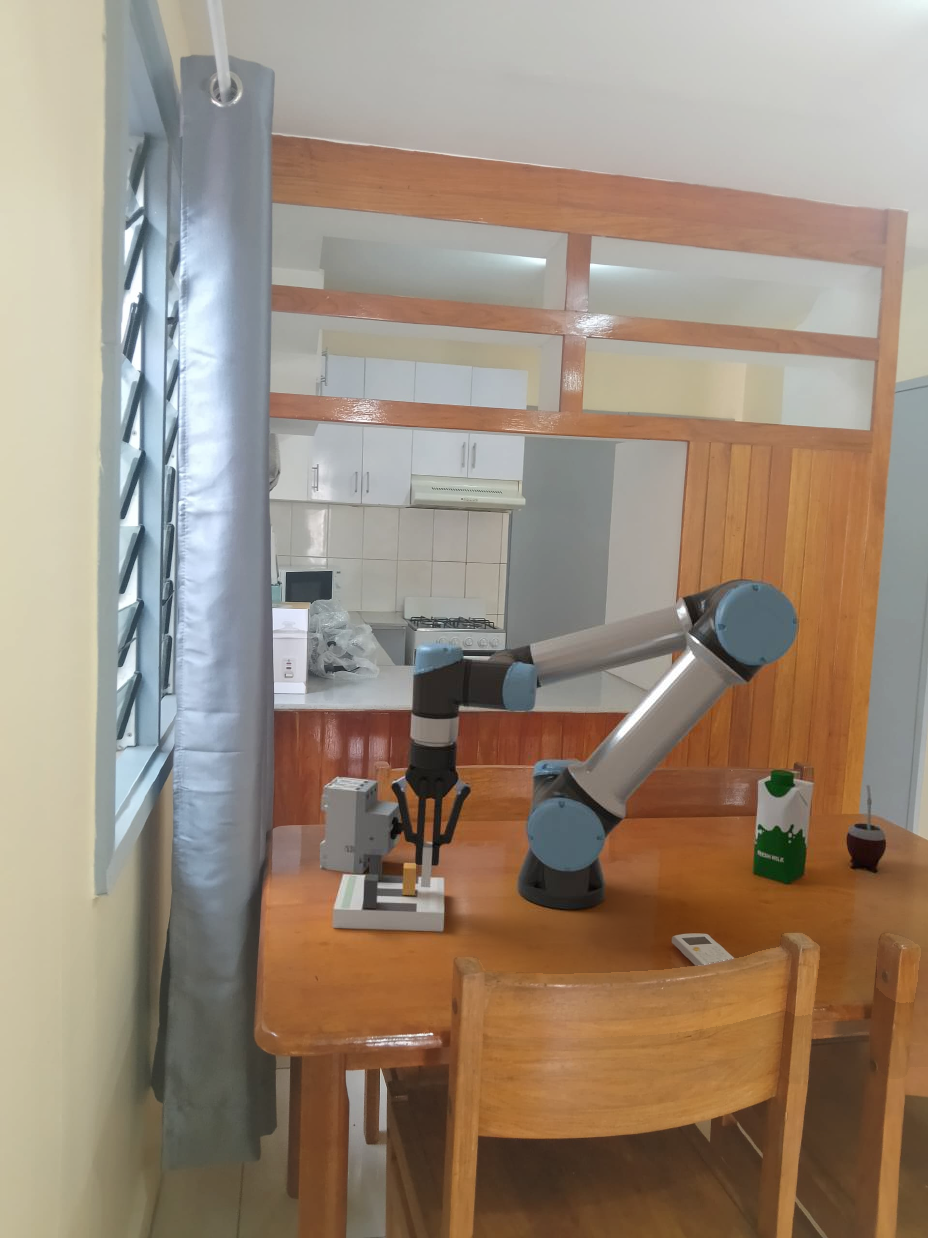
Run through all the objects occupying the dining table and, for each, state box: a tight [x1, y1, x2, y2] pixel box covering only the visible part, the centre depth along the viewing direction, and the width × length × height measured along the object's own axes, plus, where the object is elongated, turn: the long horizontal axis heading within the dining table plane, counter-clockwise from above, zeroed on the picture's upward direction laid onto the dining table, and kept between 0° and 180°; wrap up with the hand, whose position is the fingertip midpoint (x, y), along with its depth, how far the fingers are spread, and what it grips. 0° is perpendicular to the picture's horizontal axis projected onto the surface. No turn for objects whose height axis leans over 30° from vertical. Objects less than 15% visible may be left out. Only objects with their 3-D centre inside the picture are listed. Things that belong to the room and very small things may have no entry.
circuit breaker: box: [319, 776, 404, 875], centre depth 162 cm, size 8×14×15 cm, turn 78°
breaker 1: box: [368, 849, 384, 881], centre depth 149 cm, size 2×2×4 cm
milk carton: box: [752, 769, 815, 885], centre depth 167 cm, size 9×9×20 cm
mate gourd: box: [846, 784, 887, 874], centre depth 174 cm, size 8×8×15 cm
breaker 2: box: [363, 873, 378, 908], centre depth 138 cm, size 2×2×4 cm
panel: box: [332, 873, 445, 932], centre depth 144 cm, size 17×14×3 cm
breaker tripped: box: [402, 862, 417, 895], centre depth 144 cm, size 2×2×4 cm
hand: (425, 883), depth 144 cm, fingers closed
